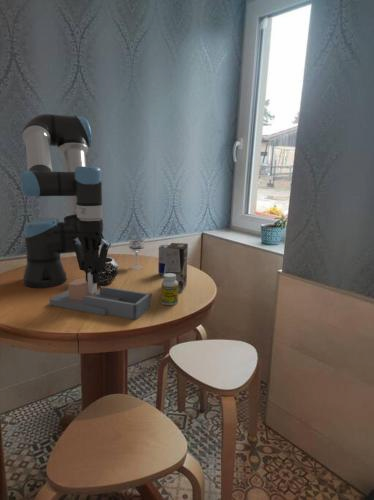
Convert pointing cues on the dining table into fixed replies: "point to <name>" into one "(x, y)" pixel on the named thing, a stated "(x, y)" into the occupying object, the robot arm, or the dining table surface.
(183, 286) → the coffee box
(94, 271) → the robot arm
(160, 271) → the energy drink
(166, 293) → the supplement bottle
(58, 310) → the dining table surface
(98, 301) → the sliding lid box
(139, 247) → the wineglass
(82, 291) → the terracotta block
